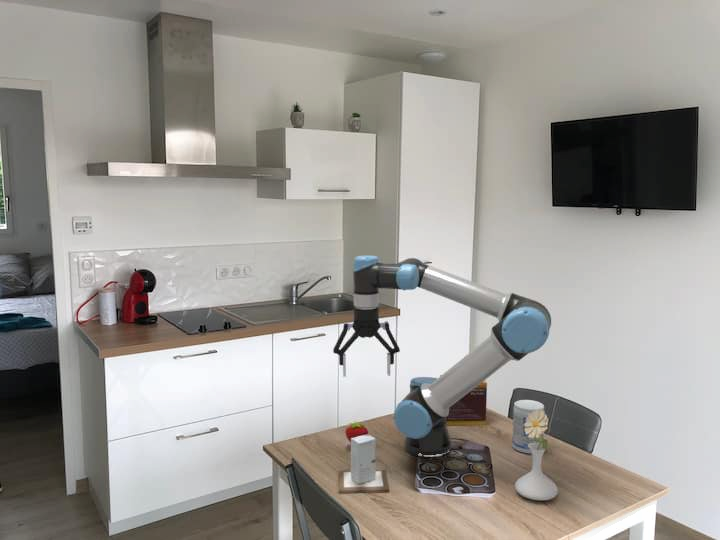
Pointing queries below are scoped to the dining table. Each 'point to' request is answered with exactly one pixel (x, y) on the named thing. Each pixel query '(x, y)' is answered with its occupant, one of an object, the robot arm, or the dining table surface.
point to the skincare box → (363, 459)
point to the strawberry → (355, 430)
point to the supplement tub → (519, 419)
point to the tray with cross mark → (367, 487)
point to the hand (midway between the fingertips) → (366, 375)
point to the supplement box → (469, 408)
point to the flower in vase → (536, 461)
